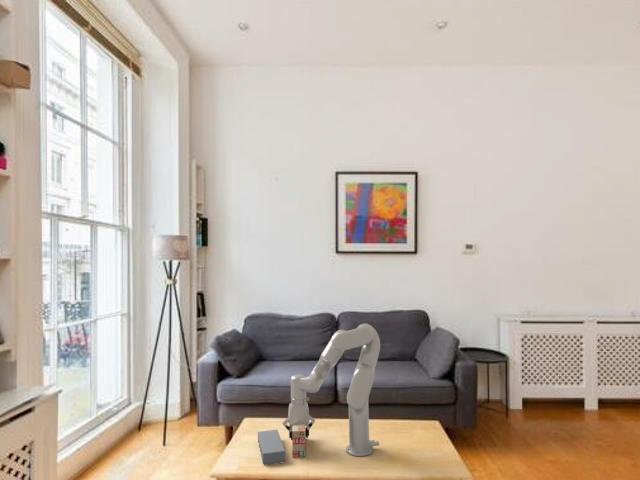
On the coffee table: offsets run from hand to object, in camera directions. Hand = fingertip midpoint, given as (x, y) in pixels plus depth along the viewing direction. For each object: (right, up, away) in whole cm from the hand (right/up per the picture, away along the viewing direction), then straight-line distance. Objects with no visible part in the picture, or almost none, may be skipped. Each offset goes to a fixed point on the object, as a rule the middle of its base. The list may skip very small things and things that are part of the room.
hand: (299, 437), depth 209 cm
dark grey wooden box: (-13, -5, -3) cm, 15 cm away
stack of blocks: (0, -5, 0) cm, 5 cm away
